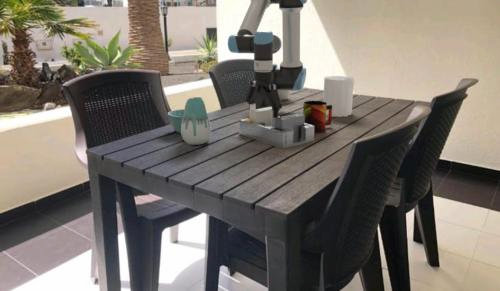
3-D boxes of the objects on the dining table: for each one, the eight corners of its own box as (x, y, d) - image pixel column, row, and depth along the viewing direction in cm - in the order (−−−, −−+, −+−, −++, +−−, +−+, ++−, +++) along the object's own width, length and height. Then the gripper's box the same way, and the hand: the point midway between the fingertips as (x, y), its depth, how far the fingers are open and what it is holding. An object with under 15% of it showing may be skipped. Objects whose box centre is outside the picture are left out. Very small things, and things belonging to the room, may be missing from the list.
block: (249, 131, 170) (249, 110, 167) (270, 126, 177) (270, 106, 174) (255, 133, 167) (255, 112, 164) (277, 128, 174) (277, 108, 172)
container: (339, 118, 197) (341, 81, 192) (316, 113, 208) (318, 78, 202) (357, 113, 207) (359, 78, 201) (334, 109, 217) (336, 75, 211)
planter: (292, 102, 235) (292, 75, 230) (262, 102, 235) (262, 75, 231) (289, 96, 251) (290, 71, 247) (262, 96, 251) (262, 71, 247)
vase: (178, 140, 162) (175, 95, 157) (206, 137, 166) (204, 93, 161) (185, 148, 152) (183, 101, 147) (215, 144, 156) (214, 98, 151)
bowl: (191, 124, 186) (190, 107, 184) (213, 131, 175) (212, 112, 173) (161, 131, 176) (160, 112, 173) (183, 138, 165) (182, 118, 162)
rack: (239, 133, 171) (238, 110, 168) (269, 127, 181) (269, 104, 178) (283, 148, 151) (284, 122, 148) (314, 140, 161) (315, 115, 158)
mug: (331, 127, 181) (332, 100, 178) (320, 134, 170) (322, 106, 166) (310, 124, 186) (312, 98, 182) (299, 131, 174) (300, 103, 171)
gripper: (237, 68, 171) (237, 117, 178) (277, 74, 153) (276, 129, 159) (250, 67, 176) (251, 115, 182) (291, 73, 157) (290, 126, 164)
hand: (262, 122), depth 171 cm, fingers open, 13 cm apart
